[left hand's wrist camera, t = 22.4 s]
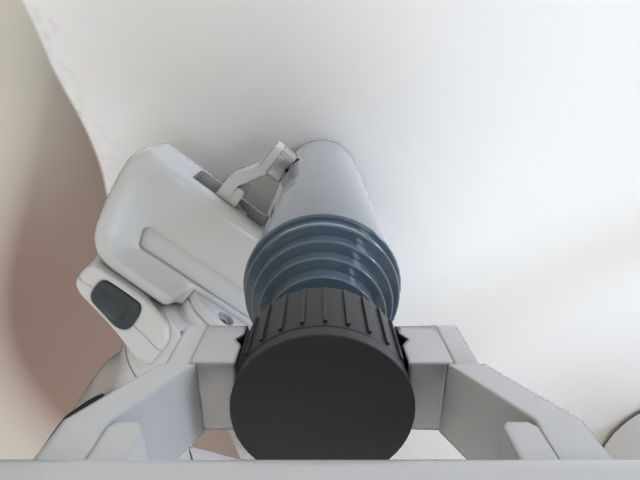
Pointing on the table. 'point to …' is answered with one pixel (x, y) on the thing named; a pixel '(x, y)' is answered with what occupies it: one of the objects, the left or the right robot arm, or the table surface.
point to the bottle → (321, 236)
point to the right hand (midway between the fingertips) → (330, 181)
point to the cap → (322, 381)
